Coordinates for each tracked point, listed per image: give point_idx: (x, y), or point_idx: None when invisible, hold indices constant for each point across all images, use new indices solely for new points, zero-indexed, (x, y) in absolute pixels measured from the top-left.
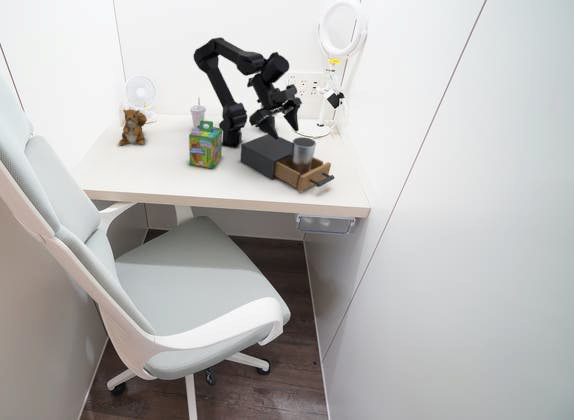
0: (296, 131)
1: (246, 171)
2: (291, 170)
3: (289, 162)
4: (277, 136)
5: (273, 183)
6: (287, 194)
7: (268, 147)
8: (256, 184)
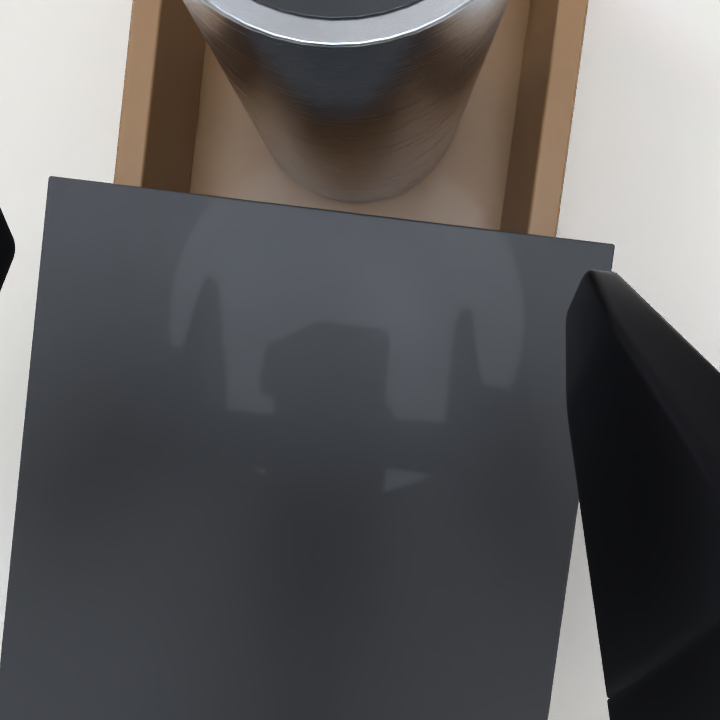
0: (10, 234)
1: (580, 527)
2: (585, 11)
3: (429, 148)
4: (622, 288)
5: (578, 225)
6: (638, 34)
7: (364, 518)
8: (694, 322)
